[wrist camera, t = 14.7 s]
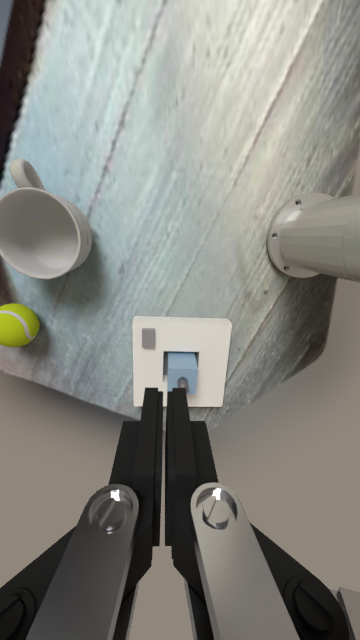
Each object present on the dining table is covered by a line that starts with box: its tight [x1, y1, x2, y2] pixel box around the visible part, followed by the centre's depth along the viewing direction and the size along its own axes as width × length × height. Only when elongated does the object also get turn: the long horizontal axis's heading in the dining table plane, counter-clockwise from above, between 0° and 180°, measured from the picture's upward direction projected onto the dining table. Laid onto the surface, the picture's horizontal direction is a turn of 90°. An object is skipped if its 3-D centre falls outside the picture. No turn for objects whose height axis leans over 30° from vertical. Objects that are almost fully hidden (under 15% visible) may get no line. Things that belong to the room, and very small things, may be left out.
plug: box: [167, 351, 198, 394], centre depth 41 cm, size 4×4×9 cm
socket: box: [133, 316, 232, 407], centre depth 44 cm, size 16×16×4 cm
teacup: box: [0, 159, 92, 279], centre depth 33 cm, size 14×11×8 cm
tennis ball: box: [0, 304, 39, 347], centre depth 38 cm, size 7×7×7 cm
